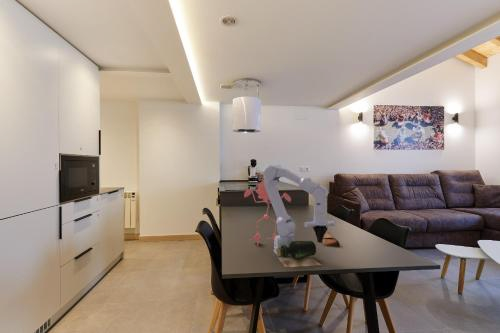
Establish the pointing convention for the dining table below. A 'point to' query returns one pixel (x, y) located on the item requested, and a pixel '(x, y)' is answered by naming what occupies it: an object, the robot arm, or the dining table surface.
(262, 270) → the dining table surface
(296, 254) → the potion bottle
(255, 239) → the figurine
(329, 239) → the sunglasses case
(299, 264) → the placemat
